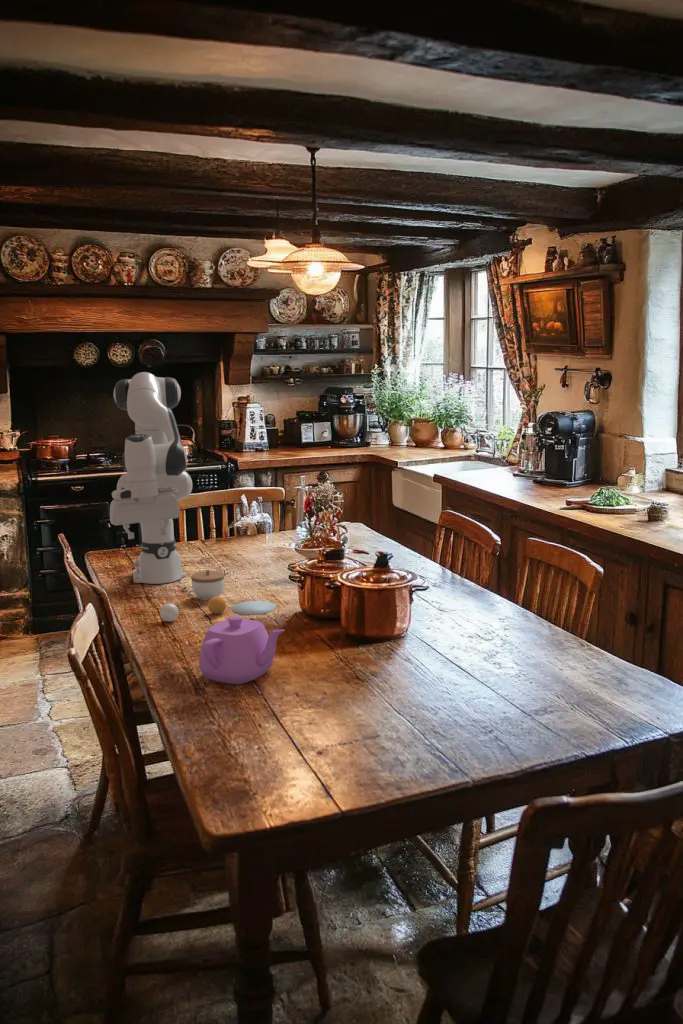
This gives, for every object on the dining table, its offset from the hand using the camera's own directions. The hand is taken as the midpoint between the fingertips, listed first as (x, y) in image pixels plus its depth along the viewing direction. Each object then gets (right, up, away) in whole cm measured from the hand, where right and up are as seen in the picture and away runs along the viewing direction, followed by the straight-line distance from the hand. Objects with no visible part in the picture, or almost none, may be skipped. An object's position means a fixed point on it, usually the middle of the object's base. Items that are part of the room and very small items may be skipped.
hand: (147, 536), depth 253 cm
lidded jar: (+14, -21, +29) cm, 39 cm away
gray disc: (+30, -23, +17) cm, 41 cm away
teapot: (+32, -34, -37) cm, 60 cm away
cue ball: (+5, -23, +5) cm, 24 cm away
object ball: (+19, -21, +12) cm, 31 cm away
